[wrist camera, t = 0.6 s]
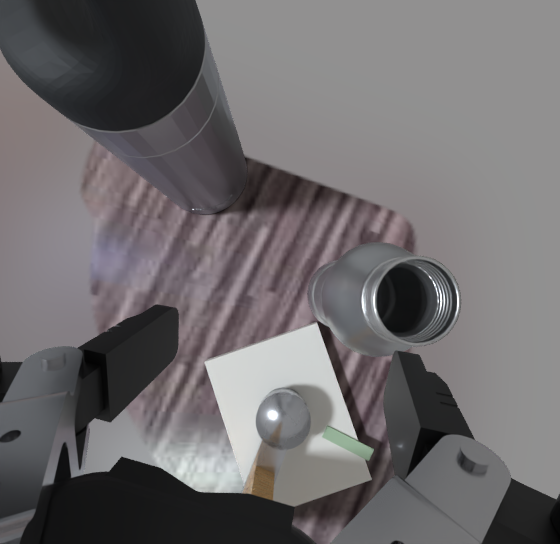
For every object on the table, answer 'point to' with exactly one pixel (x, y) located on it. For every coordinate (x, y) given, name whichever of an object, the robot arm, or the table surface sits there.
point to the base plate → (321, 402)
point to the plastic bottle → (385, 299)
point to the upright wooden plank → (276, 438)
